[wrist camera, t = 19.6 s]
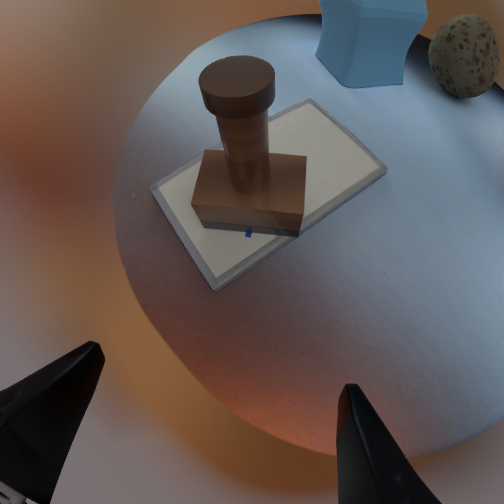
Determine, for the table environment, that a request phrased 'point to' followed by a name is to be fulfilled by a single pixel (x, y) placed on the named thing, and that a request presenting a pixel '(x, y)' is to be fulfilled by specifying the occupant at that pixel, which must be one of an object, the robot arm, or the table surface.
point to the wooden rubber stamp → (246, 155)
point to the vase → (368, 39)
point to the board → (316, 190)
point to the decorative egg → (465, 56)
